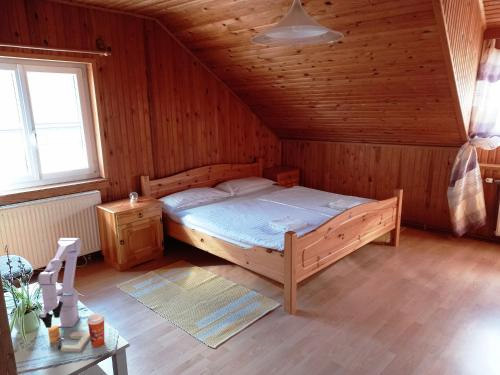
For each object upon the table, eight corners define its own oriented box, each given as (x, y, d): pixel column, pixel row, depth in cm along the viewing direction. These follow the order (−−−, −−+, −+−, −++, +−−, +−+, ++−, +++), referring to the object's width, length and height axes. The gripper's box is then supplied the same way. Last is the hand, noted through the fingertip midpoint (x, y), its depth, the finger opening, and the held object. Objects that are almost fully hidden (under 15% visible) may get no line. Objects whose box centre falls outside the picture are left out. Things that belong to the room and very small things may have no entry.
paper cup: (93, 351, 167) (90, 324, 163) (86, 343, 172) (83, 316, 168) (109, 343, 172) (107, 317, 169) (102, 335, 177) (100, 310, 174)
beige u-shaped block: (73, 334, 177) (72, 331, 177) (91, 335, 178) (91, 332, 177) (61, 351, 166) (60, 348, 165) (80, 351, 166) (80, 348, 166)
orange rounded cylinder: (52, 337, 175) (51, 325, 174) (62, 337, 175) (60, 325, 174) (48, 343, 171) (46, 331, 169) (57, 343, 171) (56, 331, 169)
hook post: (58, 347, 169) (57, 337, 167) (65, 347, 169) (64, 337, 167) (56, 349, 167) (55, 340, 166) (63, 349, 167) (62, 340, 166)
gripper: (49, 288, 174) (52, 313, 178) (32, 304, 160) (35, 331, 164) (64, 288, 175) (66, 313, 178) (48, 304, 160) (51, 331, 164)
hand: (52, 322), depth 171 cm, fingers open, 7 cm apart
